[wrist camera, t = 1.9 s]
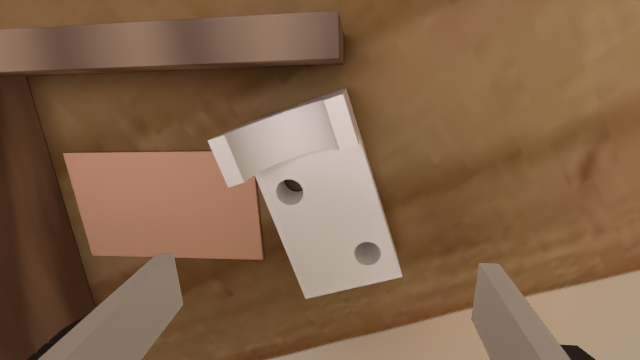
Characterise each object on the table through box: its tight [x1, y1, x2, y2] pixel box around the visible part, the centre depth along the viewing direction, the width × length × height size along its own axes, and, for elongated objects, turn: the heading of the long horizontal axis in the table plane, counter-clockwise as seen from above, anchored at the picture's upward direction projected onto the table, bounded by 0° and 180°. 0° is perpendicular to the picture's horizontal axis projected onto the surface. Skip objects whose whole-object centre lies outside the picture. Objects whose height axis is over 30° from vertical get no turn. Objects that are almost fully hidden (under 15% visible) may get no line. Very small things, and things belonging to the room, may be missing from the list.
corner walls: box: [0, 11, 344, 360], centre depth 22 cm, size 25×23×8 cm
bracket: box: [208, 88, 402, 299], centre depth 21 cm, size 13×7×8 cm, turn 19°
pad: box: [63, 151, 264, 260], centre depth 26 cm, size 15×9×1 cm, turn 92°
